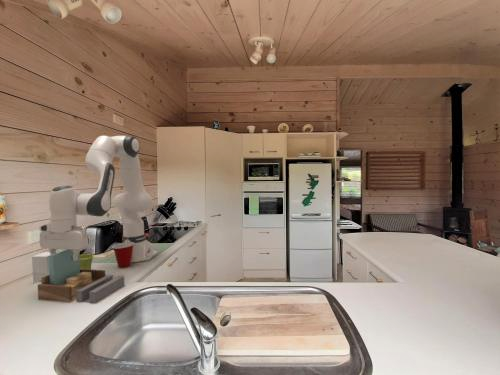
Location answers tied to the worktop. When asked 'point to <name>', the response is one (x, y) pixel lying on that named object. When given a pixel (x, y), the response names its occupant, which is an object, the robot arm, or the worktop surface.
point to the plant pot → (86, 261)
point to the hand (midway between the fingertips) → (64, 259)
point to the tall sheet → (62, 267)
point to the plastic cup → (123, 253)
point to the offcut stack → (79, 281)
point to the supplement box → (40, 266)
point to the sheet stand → (99, 289)
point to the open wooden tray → (62, 288)
